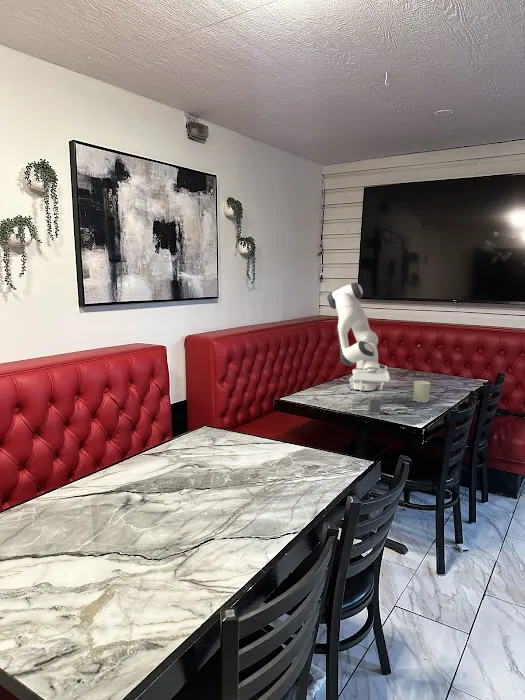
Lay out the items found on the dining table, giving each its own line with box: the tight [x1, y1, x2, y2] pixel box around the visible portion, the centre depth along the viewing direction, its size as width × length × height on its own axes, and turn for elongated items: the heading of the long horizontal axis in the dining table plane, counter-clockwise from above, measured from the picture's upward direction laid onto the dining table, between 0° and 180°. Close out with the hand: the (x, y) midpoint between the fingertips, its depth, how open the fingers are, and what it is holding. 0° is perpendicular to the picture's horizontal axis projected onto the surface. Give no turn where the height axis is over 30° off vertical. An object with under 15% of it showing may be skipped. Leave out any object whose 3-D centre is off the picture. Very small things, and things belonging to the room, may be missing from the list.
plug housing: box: [367, 395, 382, 413], centre depth 245 cm, size 4×6×10 cm
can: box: [412, 380, 431, 401], centre depth 270 cm, size 9×9×12 cm
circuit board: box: [391, 404, 406, 413], centre depth 252 cm, size 17×15×3 cm
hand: (371, 389), depth 251 cm, fingers open, 8 cm apart
